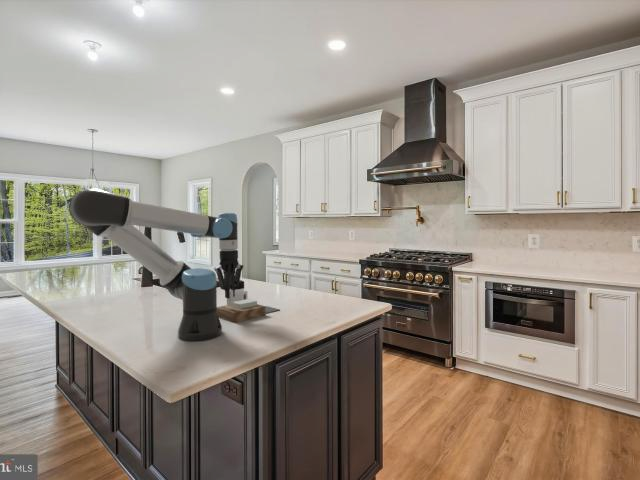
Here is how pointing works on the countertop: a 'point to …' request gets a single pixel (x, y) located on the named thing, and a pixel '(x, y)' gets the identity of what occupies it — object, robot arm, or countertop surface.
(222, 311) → the brown wooden flat block
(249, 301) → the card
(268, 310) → the mat
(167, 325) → the countertop surface
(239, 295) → the container
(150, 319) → the countertop surface
